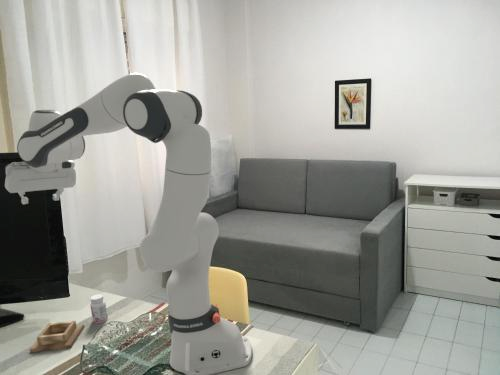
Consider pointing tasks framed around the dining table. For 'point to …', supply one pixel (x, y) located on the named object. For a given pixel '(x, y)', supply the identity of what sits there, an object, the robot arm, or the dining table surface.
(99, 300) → the pill bottle
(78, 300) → the dining table surface
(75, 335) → the brown square wooden holder
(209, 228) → the robot arm
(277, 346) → the dining table surface
